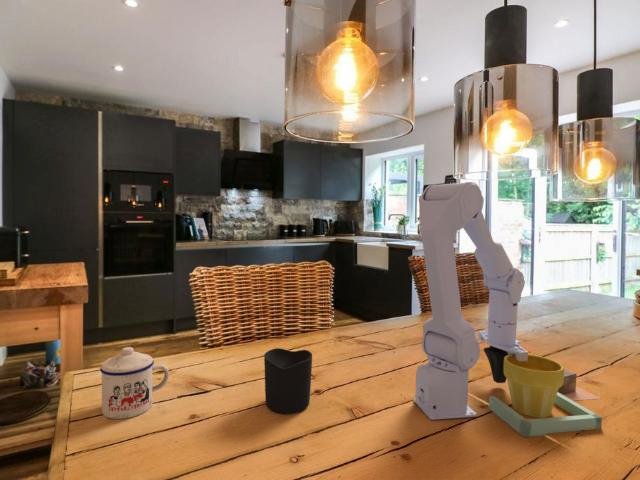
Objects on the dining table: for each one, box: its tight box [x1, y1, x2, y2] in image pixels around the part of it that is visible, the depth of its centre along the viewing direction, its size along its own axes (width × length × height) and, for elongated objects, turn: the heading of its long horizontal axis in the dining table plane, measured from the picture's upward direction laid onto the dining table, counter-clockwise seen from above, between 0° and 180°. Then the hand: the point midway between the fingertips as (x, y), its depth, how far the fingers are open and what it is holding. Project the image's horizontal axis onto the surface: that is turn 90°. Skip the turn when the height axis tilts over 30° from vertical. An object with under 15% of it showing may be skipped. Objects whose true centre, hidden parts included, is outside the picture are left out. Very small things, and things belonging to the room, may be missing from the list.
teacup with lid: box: [99, 346, 170, 420], centre depth 74 cm, size 12×9×12 cm
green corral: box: [488, 392, 603, 438], centre depth 73 cm, size 15×10×2 cm, turn 100°
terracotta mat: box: [560, 385, 601, 402], centre depth 85 cm, size 10×10×1 cm
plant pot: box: [504, 353, 565, 418], centre depth 76 cm, size 10×10×10 cm
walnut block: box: [558, 368, 577, 395], centre depth 85 cm, size 4×4×4 cm
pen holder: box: [263, 347, 313, 415], centre depth 76 cm, size 9×9×10 cm
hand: (499, 381), depth 86 cm, fingers closed
